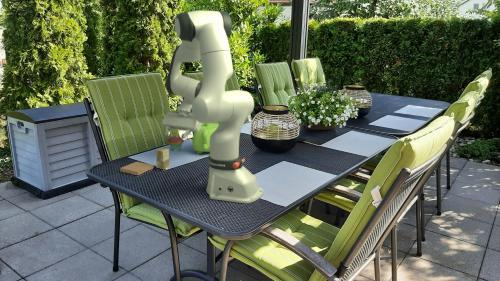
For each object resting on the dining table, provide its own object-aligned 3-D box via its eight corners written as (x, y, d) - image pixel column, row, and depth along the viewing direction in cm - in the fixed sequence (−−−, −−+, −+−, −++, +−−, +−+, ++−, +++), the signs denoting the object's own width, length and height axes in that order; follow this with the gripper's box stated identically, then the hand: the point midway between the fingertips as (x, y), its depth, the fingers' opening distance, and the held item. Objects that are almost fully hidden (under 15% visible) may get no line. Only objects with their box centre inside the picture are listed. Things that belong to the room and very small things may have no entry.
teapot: (232, 158, 186) (232, 127, 182) (189, 157, 187) (188, 126, 182) (235, 143, 210) (235, 116, 206) (197, 143, 211) (196, 115, 206)
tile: (153, 170, 169) (153, 165, 169) (137, 177, 161) (137, 172, 160) (137, 166, 174) (136, 161, 173) (120, 173, 165) (120, 168, 165)
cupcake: (187, 148, 200) (186, 126, 197) (176, 152, 193) (175, 130, 190) (174, 146, 204) (174, 124, 201) (164, 150, 197) (162, 128, 194)
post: (169, 167, 172) (168, 149, 169) (163, 170, 168) (162, 151, 166) (162, 166, 173) (161, 147, 171) (156, 169, 170) (155, 150, 167)
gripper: (166, 106, 183) (154, 130, 177) (201, 110, 174) (189, 135, 168) (172, 113, 188) (160, 137, 182) (206, 118, 179) (195, 143, 173)
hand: (174, 136), depth 175 cm, fingers open, 8 cm apart
